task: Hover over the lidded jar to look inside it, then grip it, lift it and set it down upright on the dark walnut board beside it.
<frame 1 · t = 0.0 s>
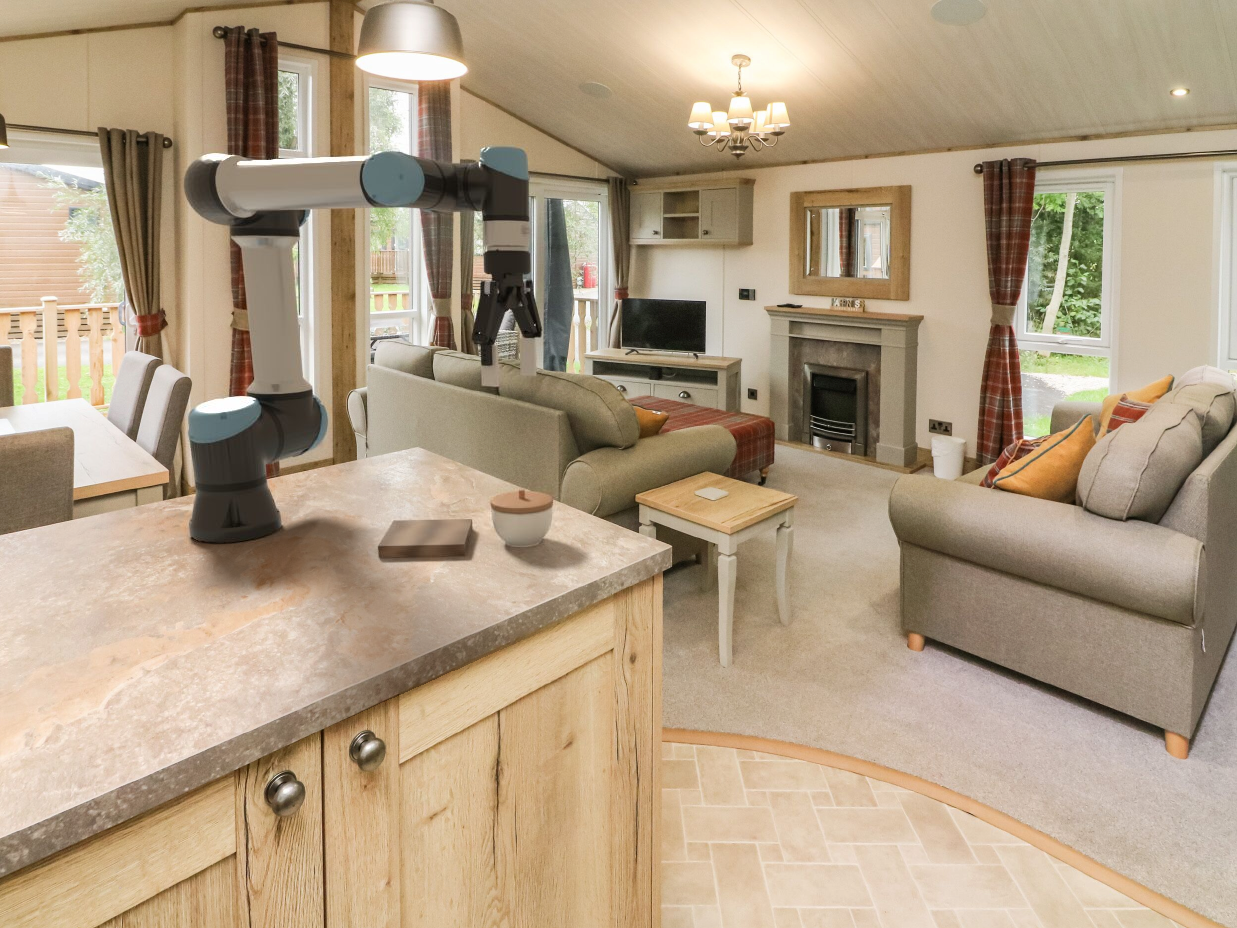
hand: (510, 380, 139), 28 cm above the counter, fingers open, 13 cm apart
lidded jar: (522, 543, 145), on the counter
walnut board: (428, 542, 144), on the counter
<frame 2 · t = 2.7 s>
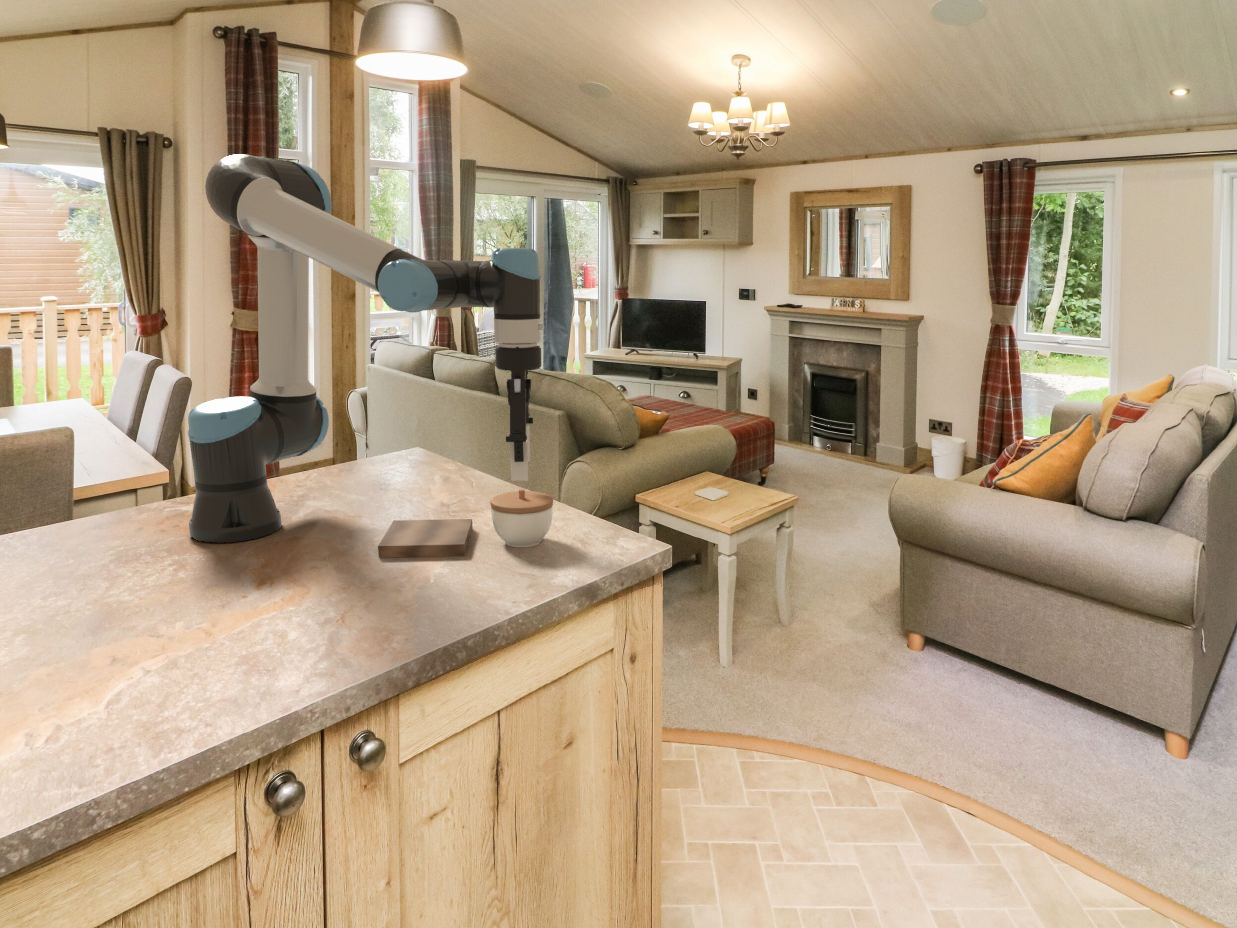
hand: (521, 470, 142), 13 cm above the counter, fingers open, 13 cm apart
nothing on the counter moved.
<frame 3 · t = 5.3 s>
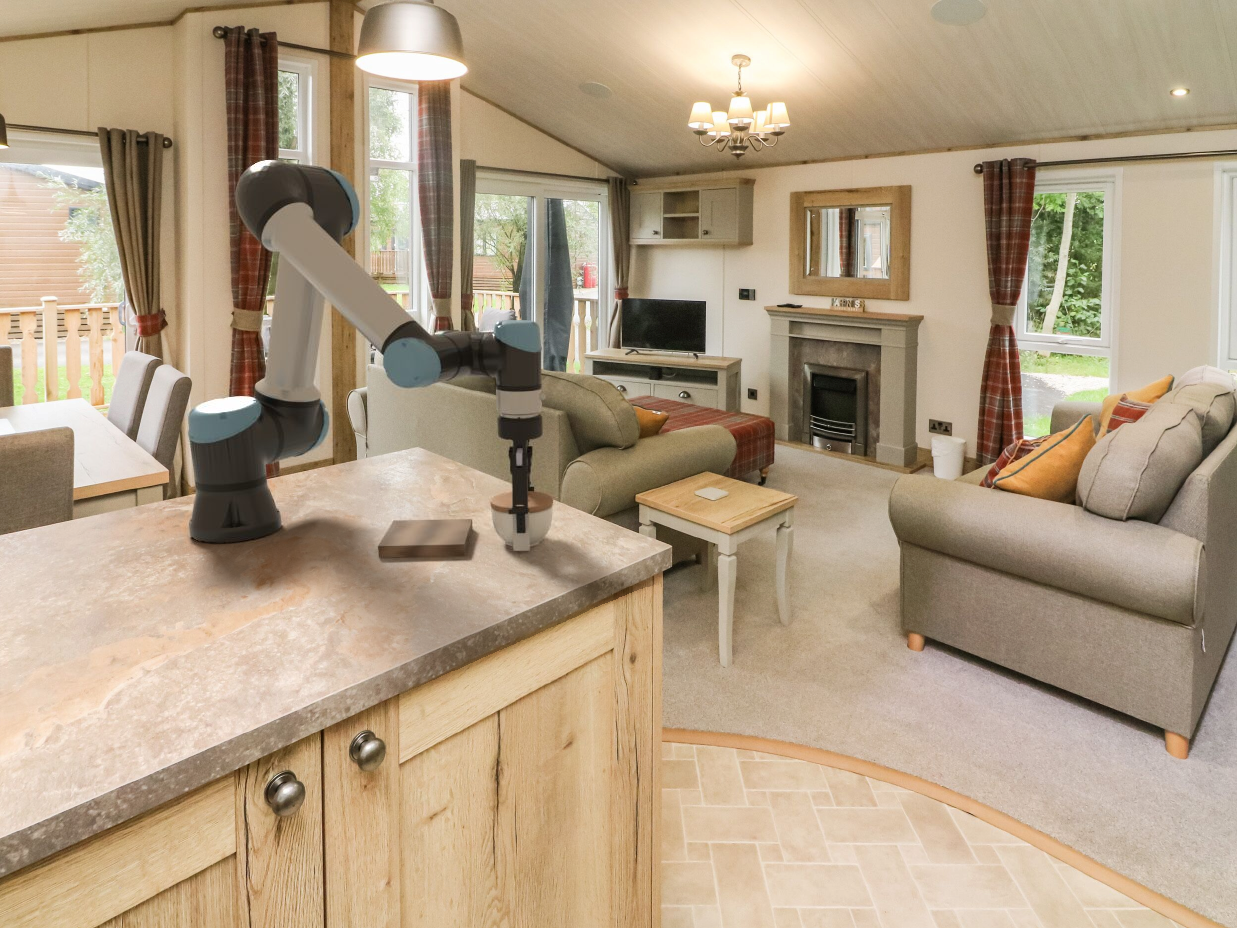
hand: (522, 539, 145), 0 cm above the counter, fingers closed on lidded jar, 11 cm apart
lidded jar: (522, 542, 145), on the counter, touching gripper
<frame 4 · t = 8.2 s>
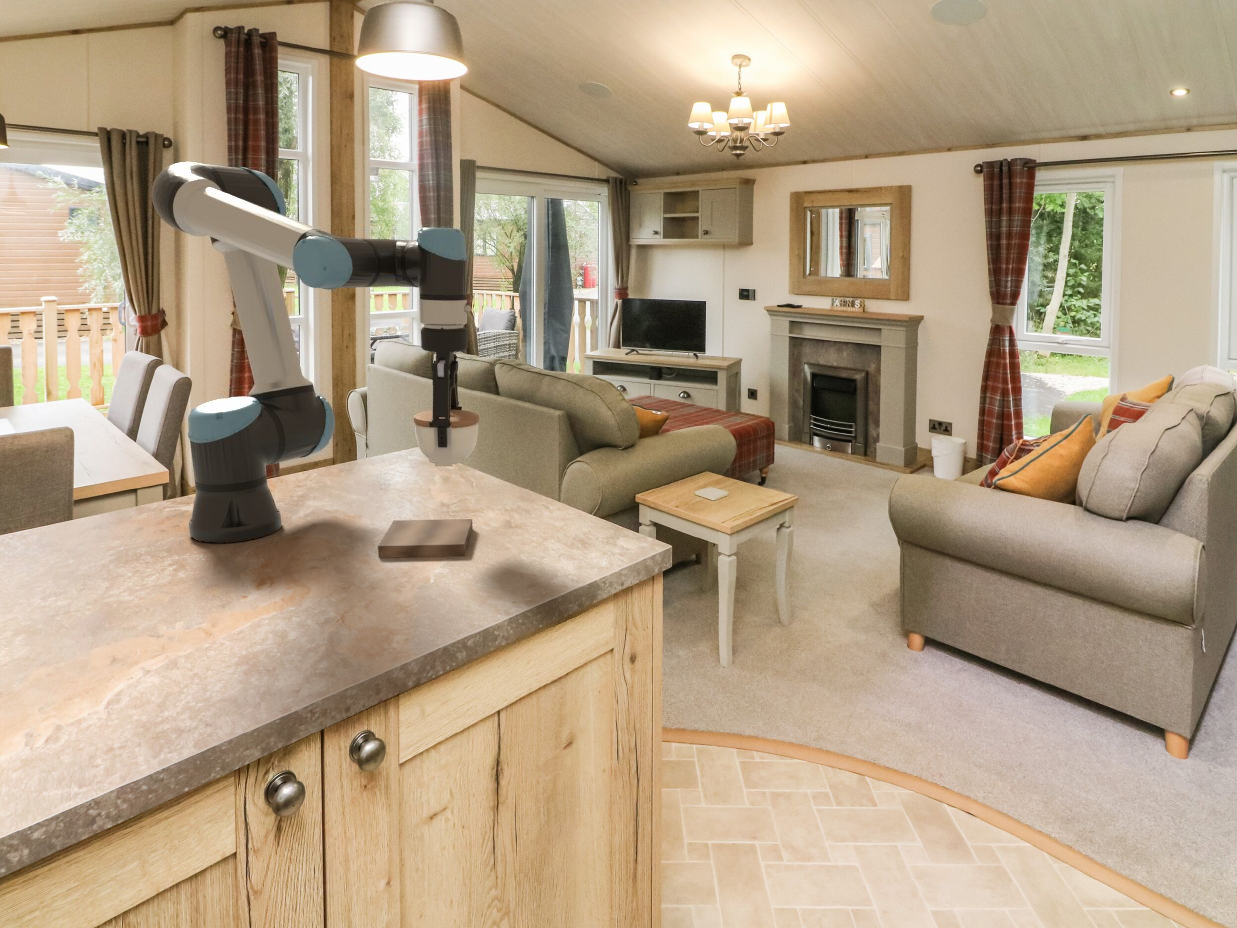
hand: (447, 457, 141), 15 cm above the counter, fingers closed on lidded jar, 11 cm apart
lidded jar: (447, 461, 141), point 14 cm above the counter, touching gripper
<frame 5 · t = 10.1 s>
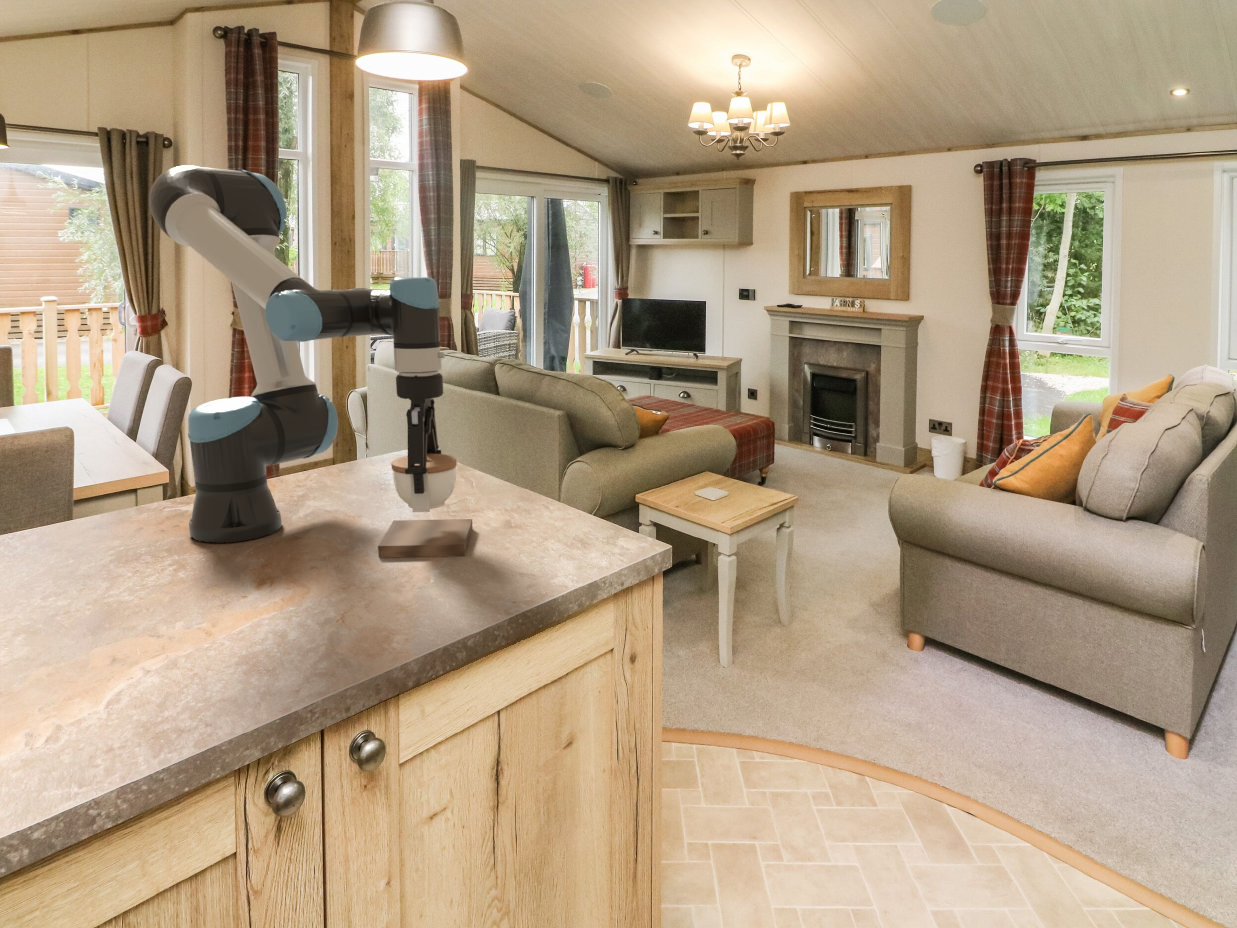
hand: (426, 502, 142), 7 cm above the counter, fingers closed on lidded jar, 11 cm apart
lidded jar: (426, 505, 142), point 7 cm above the counter, touching gripper
when the fingers open (4 cm above the counter, at t = 11.3 s): lidded jar drops 2 cm, resting on walnut board.
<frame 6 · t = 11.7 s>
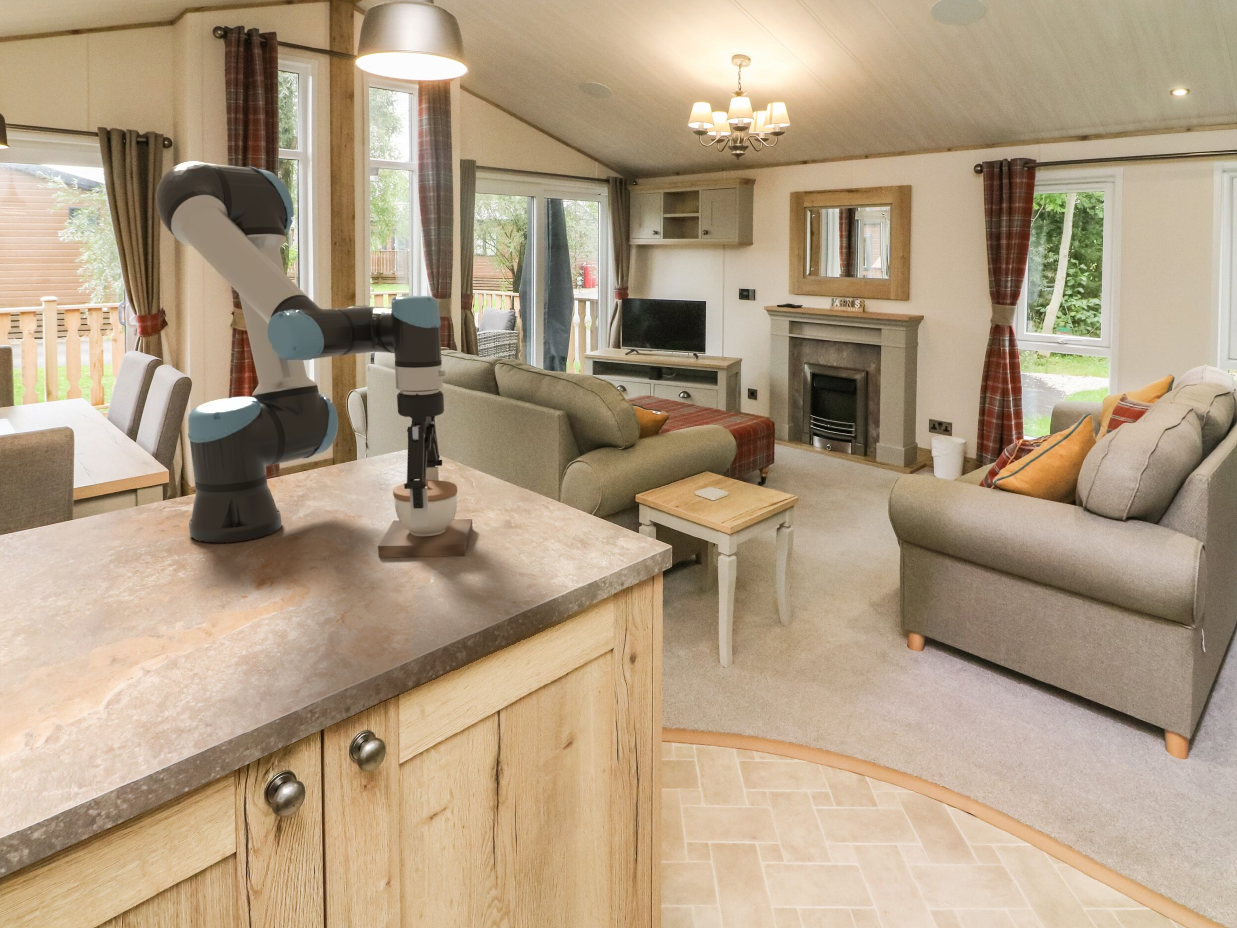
hand: (426, 514, 143), 5 cm above the counter, fingers open, 13 cm apart
lidded jar: (427, 532, 144), point 2 cm above the counter, touching walnut board
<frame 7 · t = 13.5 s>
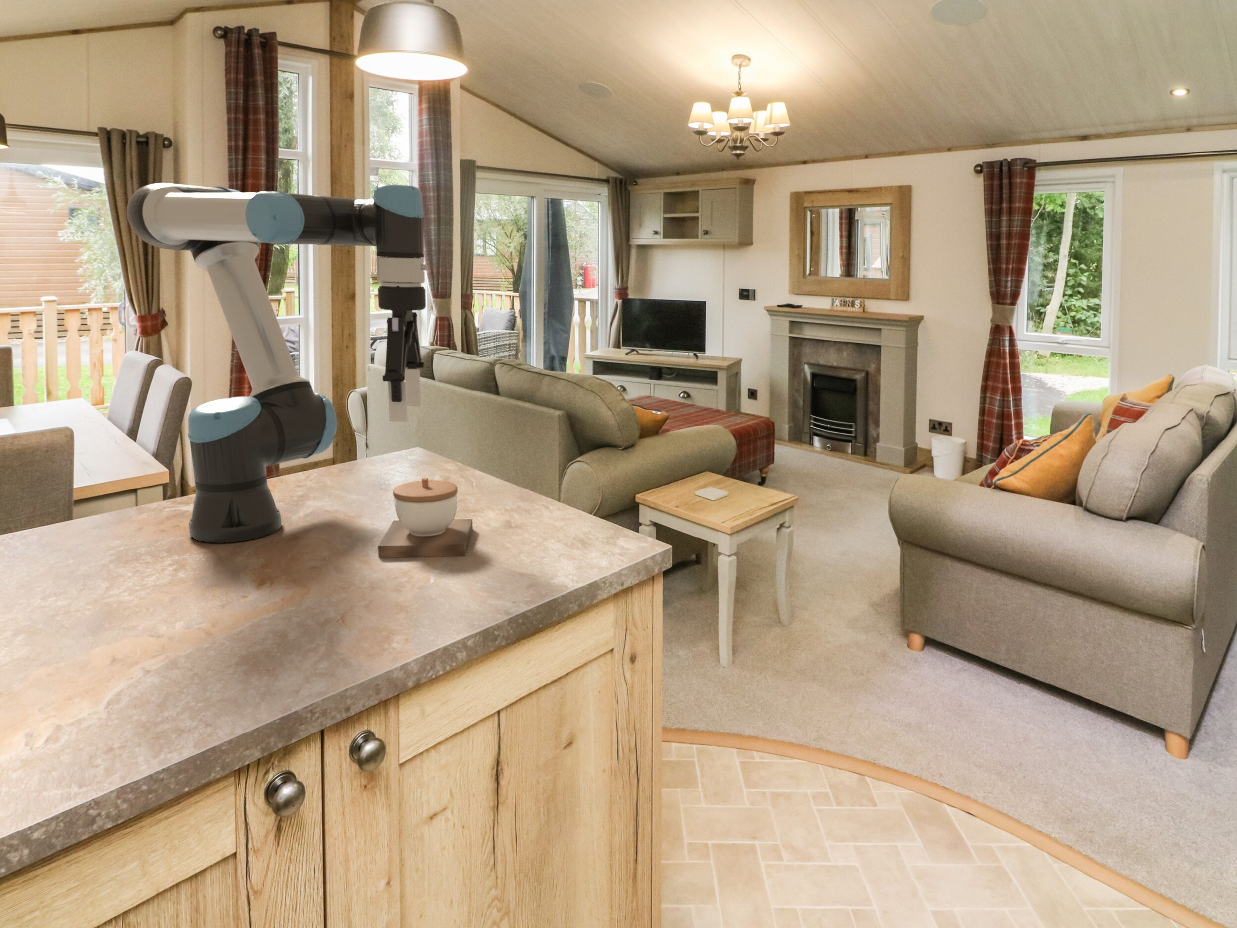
hand: (405, 413, 141), 22 cm above the counter, fingers open, 13 cm apart
nothing on the counter moved.
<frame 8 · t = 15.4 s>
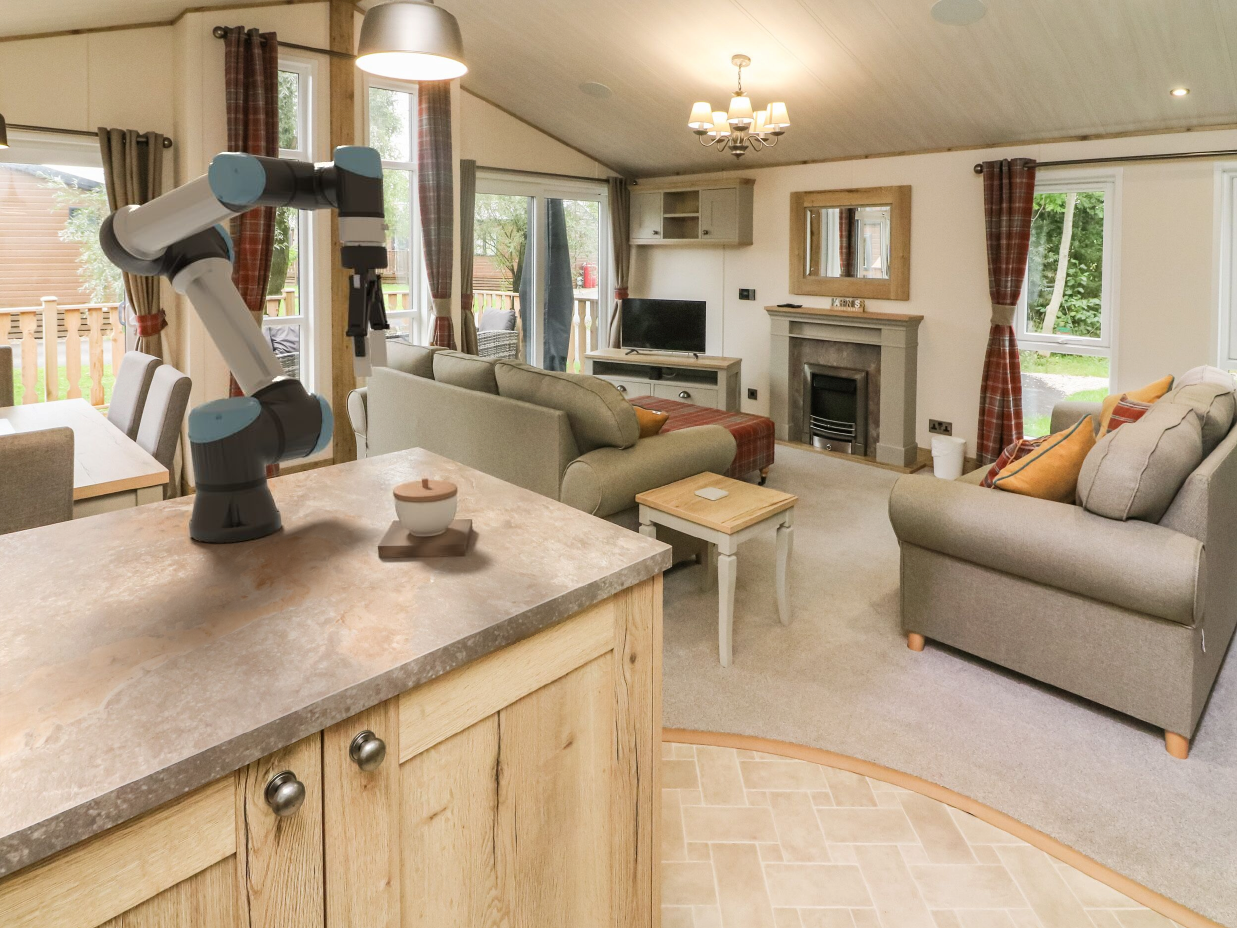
hand: (371, 371, 145), 29 cm above the counter, fingers open, 13 cm apart
nothing on the counter moved.
at the end: lidded jar inside the target area on the walnut board (0.4 cm from its centre), point 1.8 cm above the walnut board's base; lidded jar tilted 0°; the gripper is holding nothing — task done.
